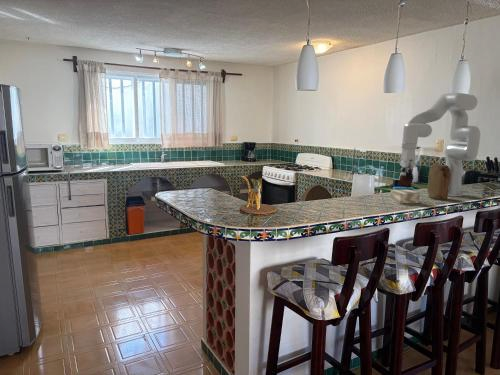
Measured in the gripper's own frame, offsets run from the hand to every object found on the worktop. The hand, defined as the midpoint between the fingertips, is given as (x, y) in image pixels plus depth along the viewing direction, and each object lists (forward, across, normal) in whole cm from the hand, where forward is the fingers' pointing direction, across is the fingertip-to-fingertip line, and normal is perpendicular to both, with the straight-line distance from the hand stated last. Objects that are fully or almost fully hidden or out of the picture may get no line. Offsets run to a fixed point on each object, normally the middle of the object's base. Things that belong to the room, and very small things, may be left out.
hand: (406, 178), depth 204 cm
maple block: (+14, 0, 0) cm, 14 cm away
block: (+13, -12, +23) cm, 29 cm away
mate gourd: (+5, 0, 0) cm, 5 cm away
